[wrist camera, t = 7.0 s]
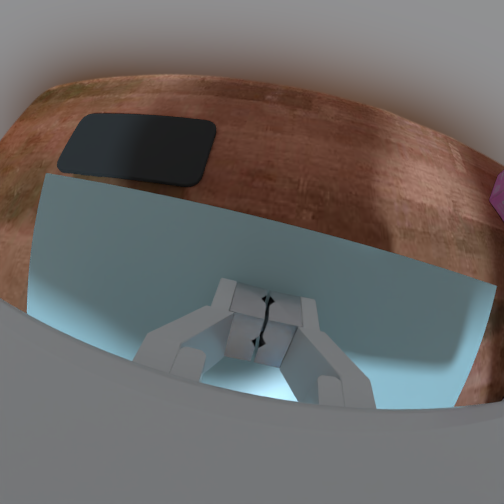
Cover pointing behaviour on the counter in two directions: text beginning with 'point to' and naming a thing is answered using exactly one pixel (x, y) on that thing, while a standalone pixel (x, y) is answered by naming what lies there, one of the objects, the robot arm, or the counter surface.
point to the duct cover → (253, 273)
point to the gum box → (498, 195)
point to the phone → (140, 148)
